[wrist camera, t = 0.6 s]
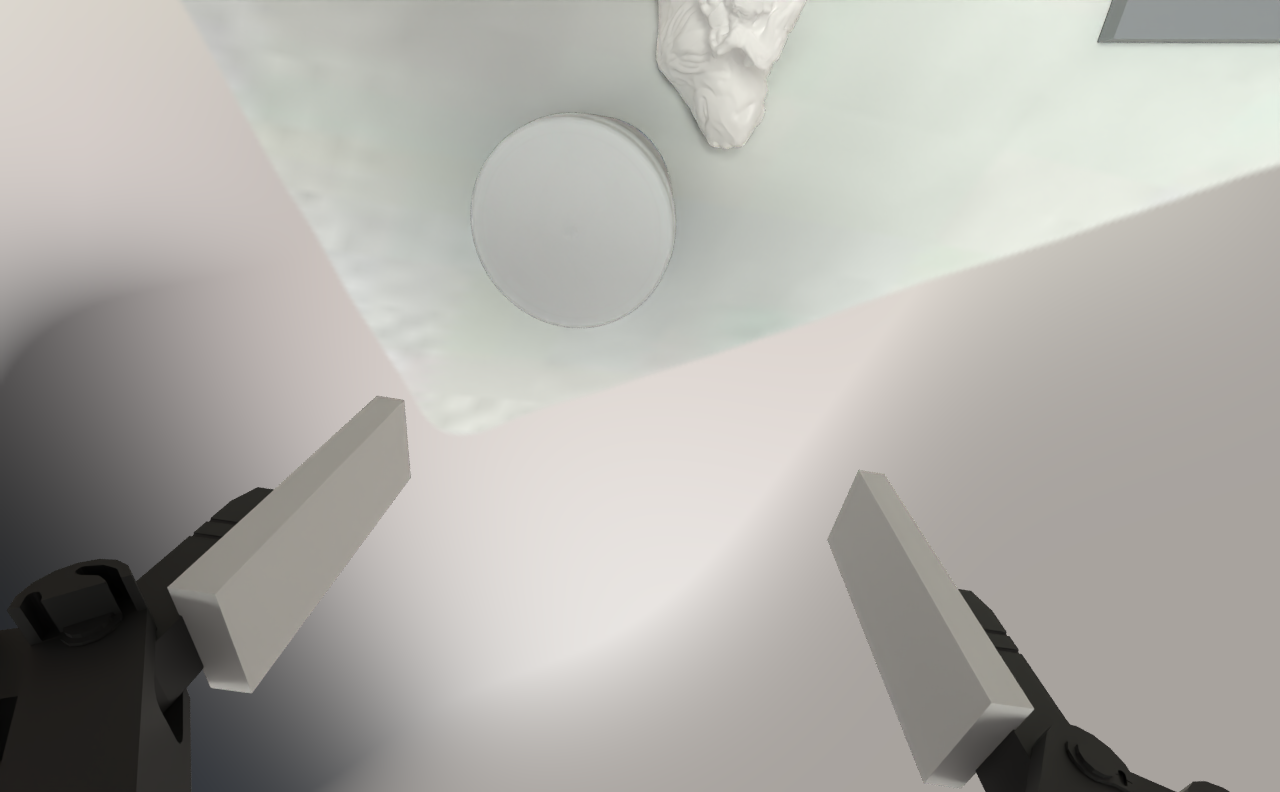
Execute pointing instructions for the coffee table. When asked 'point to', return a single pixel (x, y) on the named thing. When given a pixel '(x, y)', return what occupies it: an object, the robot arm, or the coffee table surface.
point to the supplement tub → (574, 218)
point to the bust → (723, 59)
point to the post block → (1193, 21)
